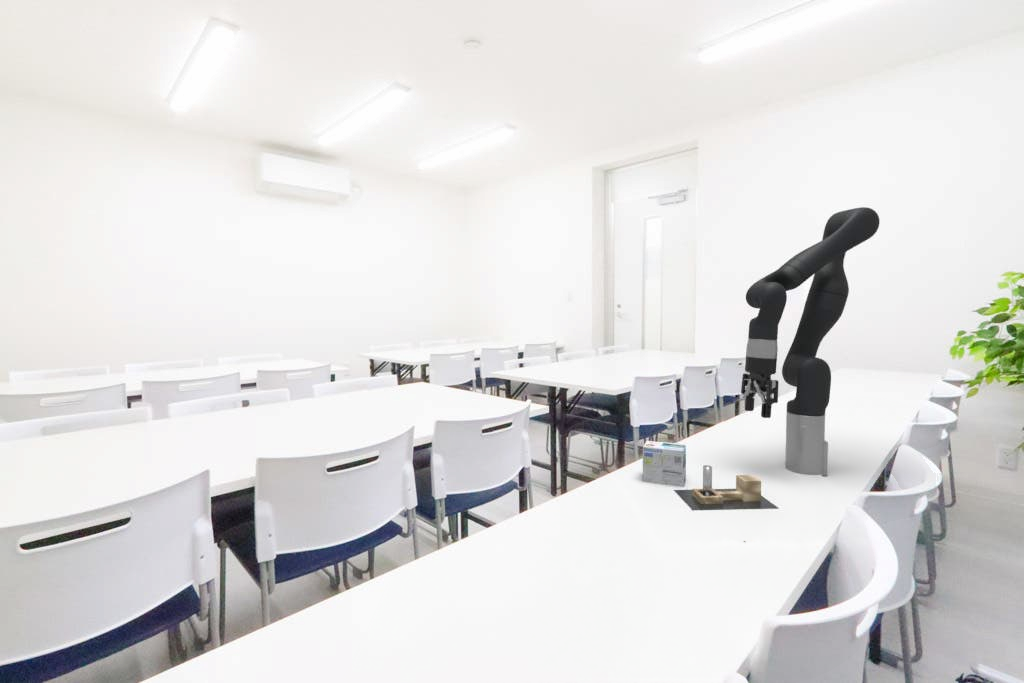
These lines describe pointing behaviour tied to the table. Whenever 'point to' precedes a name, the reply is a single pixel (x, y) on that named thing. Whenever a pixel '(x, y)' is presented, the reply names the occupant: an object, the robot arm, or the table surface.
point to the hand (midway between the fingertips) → (757, 414)
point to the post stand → (727, 504)
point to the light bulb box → (664, 463)
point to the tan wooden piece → (745, 490)
